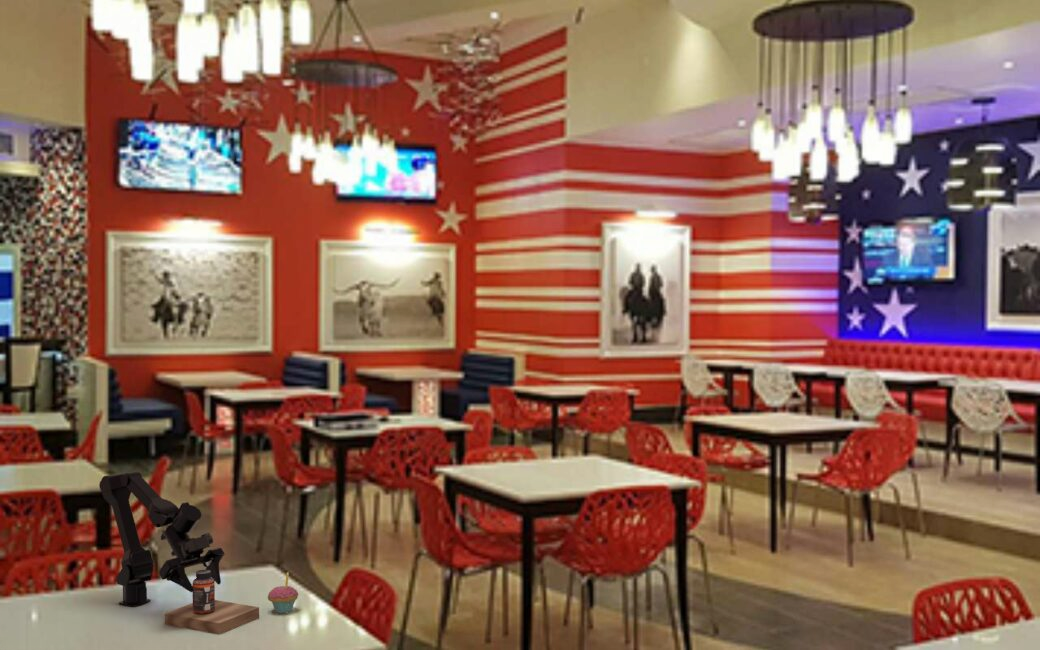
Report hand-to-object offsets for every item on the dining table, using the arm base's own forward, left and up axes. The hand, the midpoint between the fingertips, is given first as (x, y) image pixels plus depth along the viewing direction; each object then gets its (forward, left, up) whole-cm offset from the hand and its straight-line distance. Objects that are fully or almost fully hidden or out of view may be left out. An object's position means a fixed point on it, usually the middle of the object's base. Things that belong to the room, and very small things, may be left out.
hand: (206, 587), depth 298 cm
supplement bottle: (-1, 0, -7) cm, 7 cm away
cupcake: (+12, +18, -10) cm, 24 cm away
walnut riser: (0, +2, -10) cm, 10 cm away
